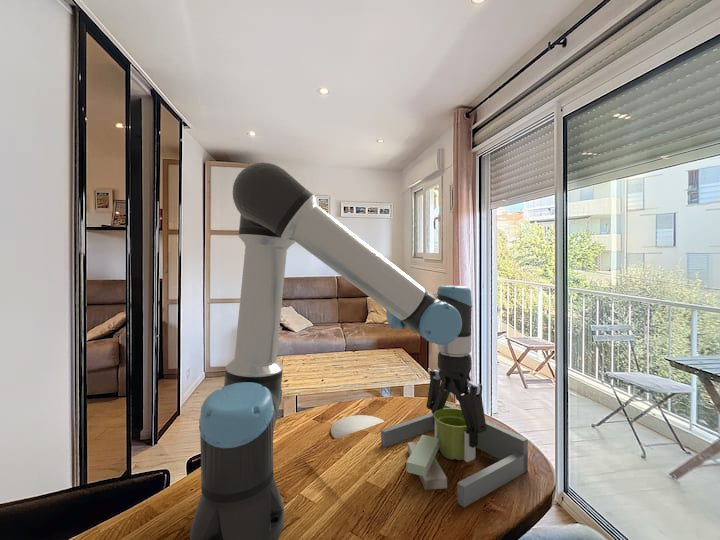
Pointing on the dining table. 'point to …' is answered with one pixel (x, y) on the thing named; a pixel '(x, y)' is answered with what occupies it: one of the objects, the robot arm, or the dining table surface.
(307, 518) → the dining table surface
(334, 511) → the dining table surface
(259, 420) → the robot arm
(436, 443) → the offcut top
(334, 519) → the dining table surface
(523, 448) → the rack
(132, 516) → the dining table surface
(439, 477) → the block
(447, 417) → the plant pot
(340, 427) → the mat
